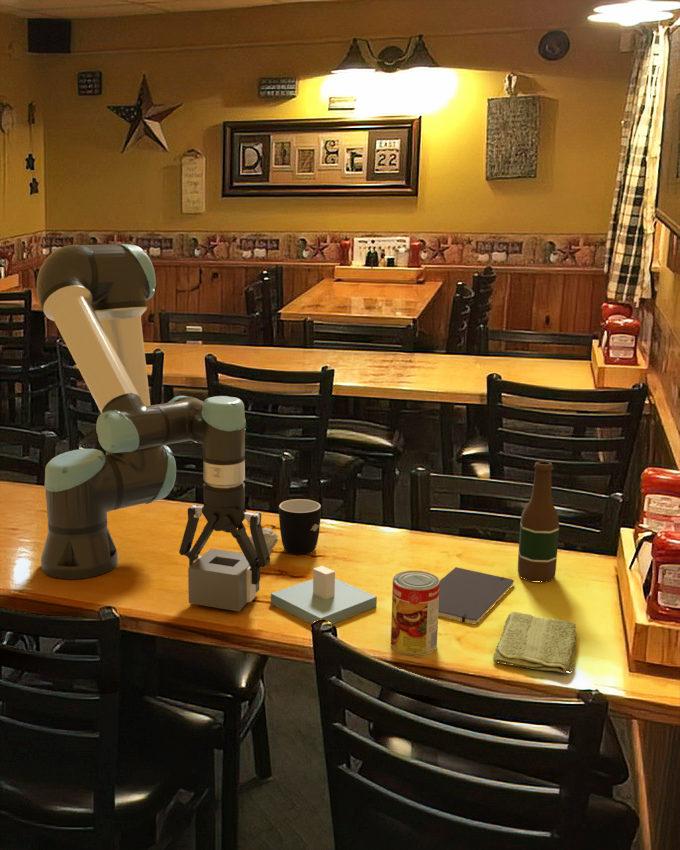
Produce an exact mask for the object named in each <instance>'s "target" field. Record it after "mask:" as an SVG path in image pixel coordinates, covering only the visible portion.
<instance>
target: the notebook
mask: <svg viewBox="0 0 680 850" xmlns="http://www.w3.org/2000/svg"><path fill="white" fill-rule="evenodd" d="M439 580H440V587H439V609H438V615H439V616H438V617H441V616H443V617H442V618H445V617H448V618H447V619H449V618H451V619H450V620H453V619H454V621H457V620H460V621H459V622H461V621H462V622H461V623H463V622H465V623H466V622H468V623H467V624H470V623H477V622H478V621H479V620H480V619H481V618H482V617H483V616H484V615H485V614H486V612H487V611H488V610H489V609H490V608H491V607H492V606H493V605H494V604H495V603H496V602H497V601H498V600H499V599H500V598H501V597H502V596H503V595H504V593H505V592H506V591H507V590H508V589H509V588H510V587H511V586H512V585H514V582H515V579H512V578H508V577H505V576H498V575H493V574H489V573H485V572H479V571H475V570H472V569H471V570H470V569H466V568H463V567H457V566H456V567H453V569H452V570H450V571H449V572H448V573H447V574H446V575H445V576H444V577H443V578H442V579H439ZM512 587H513V586H512ZM504 596H505V595H504ZM504 596H503V597H504ZM503 597H502V598H503ZM502 598H501V599H502ZM501 599H500V600H501ZM500 600H499V601H500ZM499 601H498V602H499ZM498 602H497V603H498ZM497 603H496V604H497ZM496 604H495V605H496ZM495 605H494V606H495ZM494 606H493V607H494ZM493 607H492V608H493ZM492 608H491V609H492ZM486 615H487V614H486ZM486 615H485V616H486ZM485 616H484V617H485ZM484 617H483V618H484ZM483 618H482V619H483ZM482 619H481V620H482ZM481 620H480V621H481ZM480 621H479V622H480ZM479 622H478V623H479ZM478 623H477V624H478Z"/></svg>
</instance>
